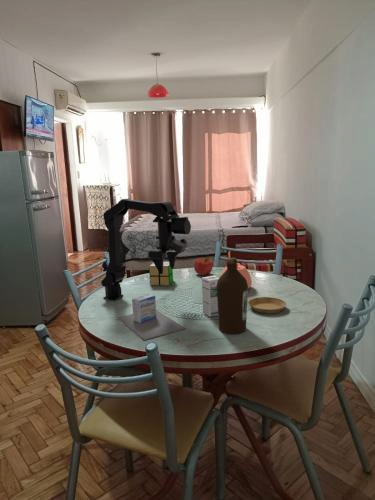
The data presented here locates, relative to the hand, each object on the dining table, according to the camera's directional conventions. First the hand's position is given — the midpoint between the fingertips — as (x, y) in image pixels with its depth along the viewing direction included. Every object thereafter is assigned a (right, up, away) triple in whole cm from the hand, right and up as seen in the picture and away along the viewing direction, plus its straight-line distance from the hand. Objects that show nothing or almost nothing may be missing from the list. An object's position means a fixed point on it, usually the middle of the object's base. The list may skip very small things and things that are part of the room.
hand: (166, 271), depth 149 cm
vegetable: (+18, -5, +49) cm, 52 cm away
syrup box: (+18, -16, -8) cm, 26 cm away
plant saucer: (+40, -15, -4) cm, 43 cm away
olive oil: (+24, -19, -23) cm, 38 cm away
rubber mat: (-5, -18, -16) cm, 25 cm away
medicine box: (-8, -17, -12) cm, 23 cm away
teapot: (+31, -10, +22) cm, 39 cm away
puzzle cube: (-5, -8, +36) cm, 37 cm away
